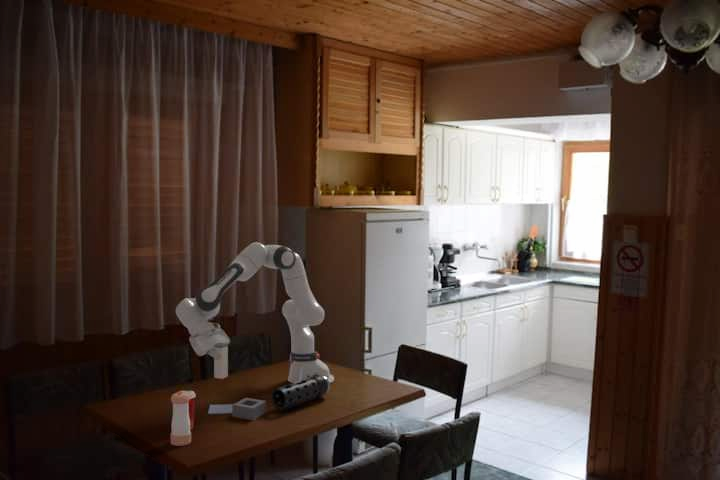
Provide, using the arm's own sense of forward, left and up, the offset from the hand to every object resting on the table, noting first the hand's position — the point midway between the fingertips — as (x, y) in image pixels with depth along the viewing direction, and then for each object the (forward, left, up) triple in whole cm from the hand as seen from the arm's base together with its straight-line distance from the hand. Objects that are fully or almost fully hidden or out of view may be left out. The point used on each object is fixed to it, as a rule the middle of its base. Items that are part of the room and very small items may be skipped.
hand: (222, 357), depth 278 cm
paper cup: (+13, +20, -23) cm, 33 cm away
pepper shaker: (+13, +34, -23) cm, 43 cm away
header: (-11, +7, -22) cm, 26 cm away
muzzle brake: (-33, -5, -23) cm, 41 cm away
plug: (0, 0, -8) cm, 8 cm away
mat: (+1, 0, -22) cm, 22 cm away
